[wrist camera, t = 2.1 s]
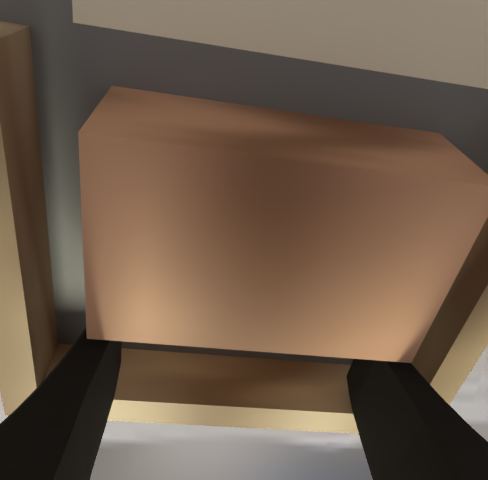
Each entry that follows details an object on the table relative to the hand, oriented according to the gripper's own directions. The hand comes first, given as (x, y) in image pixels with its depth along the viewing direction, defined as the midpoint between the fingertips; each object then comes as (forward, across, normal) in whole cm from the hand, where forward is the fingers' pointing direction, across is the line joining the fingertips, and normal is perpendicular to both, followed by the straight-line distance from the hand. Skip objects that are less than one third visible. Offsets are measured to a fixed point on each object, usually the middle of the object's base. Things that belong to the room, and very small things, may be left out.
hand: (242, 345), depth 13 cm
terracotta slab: (+1, 0, -4) cm, 4 cm away
